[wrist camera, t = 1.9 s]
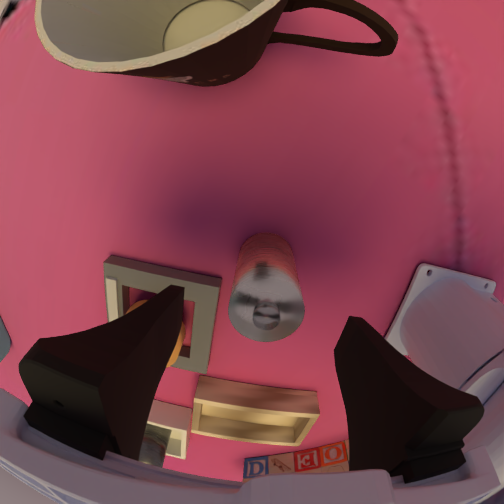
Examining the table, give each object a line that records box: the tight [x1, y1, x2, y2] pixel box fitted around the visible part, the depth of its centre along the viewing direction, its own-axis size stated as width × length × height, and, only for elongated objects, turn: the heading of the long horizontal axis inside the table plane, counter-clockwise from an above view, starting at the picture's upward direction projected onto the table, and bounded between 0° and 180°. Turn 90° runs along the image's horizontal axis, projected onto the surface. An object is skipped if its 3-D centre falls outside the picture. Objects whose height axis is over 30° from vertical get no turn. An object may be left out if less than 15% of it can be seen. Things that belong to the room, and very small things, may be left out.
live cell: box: [228, 233, 305, 342], centre depth 15 cm, size 3×3×6 cm
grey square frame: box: [104, 255, 222, 374], centre depth 20 cm, size 8×8×2 cm
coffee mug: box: [35, 0, 398, 86], centre depth 9 cm, size 12×9×10 cm
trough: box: [191, 375, 320, 446], centre depth 23 cm, size 10×6×3 cm, turn 79°
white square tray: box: [147, 399, 192, 459], centre depth 25 cm, size 7×7×3 cm
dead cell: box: [138, 423, 172, 468], centre depth 22 cm, size 3×3×6 cm
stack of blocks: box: [243, 439, 349, 482], centre depth 23 cm, size 21×6×12 cm, turn 109°
